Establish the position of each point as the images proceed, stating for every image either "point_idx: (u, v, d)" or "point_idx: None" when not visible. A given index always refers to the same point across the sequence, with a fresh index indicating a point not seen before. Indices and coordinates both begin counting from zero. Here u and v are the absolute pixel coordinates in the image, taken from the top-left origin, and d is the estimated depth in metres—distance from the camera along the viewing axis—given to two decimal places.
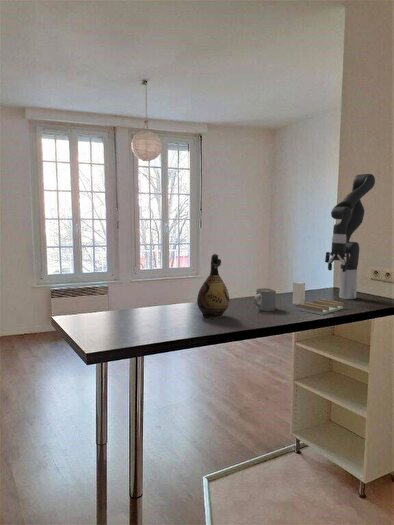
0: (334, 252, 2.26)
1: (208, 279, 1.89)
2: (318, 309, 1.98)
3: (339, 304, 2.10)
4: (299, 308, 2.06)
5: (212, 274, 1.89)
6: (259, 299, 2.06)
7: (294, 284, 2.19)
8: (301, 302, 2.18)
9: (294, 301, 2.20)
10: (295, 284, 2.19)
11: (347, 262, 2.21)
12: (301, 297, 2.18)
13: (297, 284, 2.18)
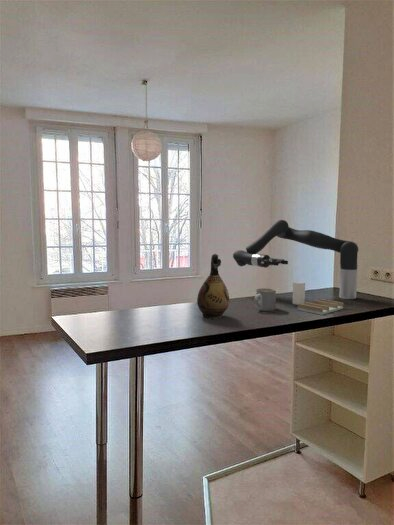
0: None
1: (208, 279, 1.89)
2: (318, 309, 1.98)
3: (339, 304, 2.10)
4: (299, 308, 2.06)
5: (212, 274, 1.89)
6: (259, 299, 2.06)
7: (294, 284, 2.19)
8: (301, 302, 2.18)
9: (294, 301, 2.20)
10: (295, 284, 2.19)
11: (267, 265, 2.27)
12: (301, 297, 2.18)
13: (297, 284, 2.18)
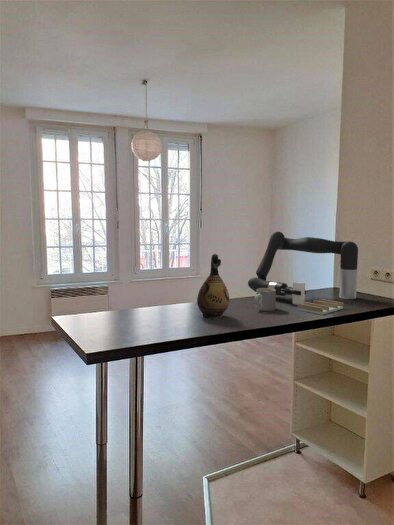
0: None
1: (208, 279, 1.89)
2: (318, 309, 1.98)
3: (339, 304, 2.10)
4: (299, 308, 2.06)
5: (212, 274, 1.89)
6: (259, 299, 2.06)
7: (294, 284, 2.19)
8: (301, 302, 2.18)
9: (294, 301, 2.20)
10: (295, 284, 2.19)
11: (289, 294, 2.19)
12: (301, 297, 2.18)
13: (297, 284, 2.18)
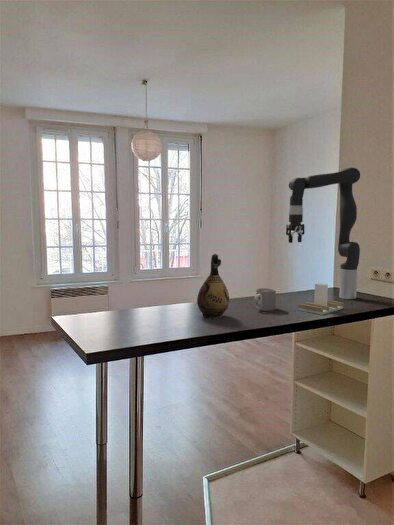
0: None
1: (208, 279, 1.89)
2: (318, 309, 1.98)
3: (339, 304, 2.10)
4: (299, 308, 2.06)
5: (212, 274, 1.89)
6: (259, 299, 2.06)
7: (316, 286, 2.07)
8: (324, 305, 2.05)
9: None
10: (317, 286, 2.06)
11: None
12: (324, 300, 2.05)
13: (319, 286, 2.05)
